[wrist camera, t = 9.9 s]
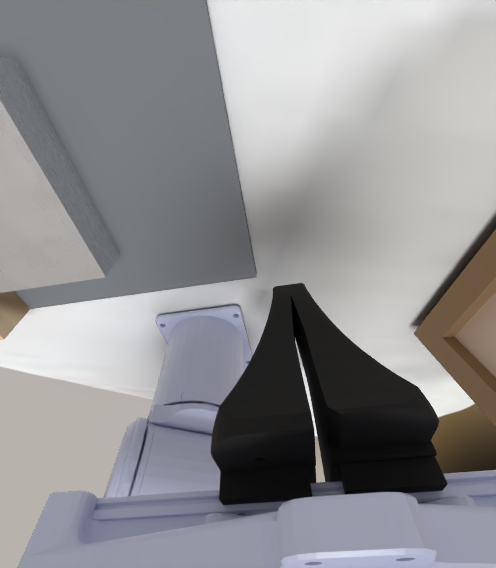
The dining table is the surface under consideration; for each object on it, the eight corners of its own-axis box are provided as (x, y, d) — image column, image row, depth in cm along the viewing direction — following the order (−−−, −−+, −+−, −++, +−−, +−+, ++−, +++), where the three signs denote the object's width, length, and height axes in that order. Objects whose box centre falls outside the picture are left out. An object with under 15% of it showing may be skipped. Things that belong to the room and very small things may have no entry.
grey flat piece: (120, 254, 22) (105, 277, 20) (25, 268, 23) (0, 292, 20) (18, 58, 15) (-26, 57, 12) (-118, 88, 15) (-183, 94, 13)
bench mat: (256, 273, 24) (256, 277, 23) (-23, 313, 26) (-27, 316, 26) (184, -117, 12) (182, -123, 11) (-325, 24, 14) (-341, 23, 14)
